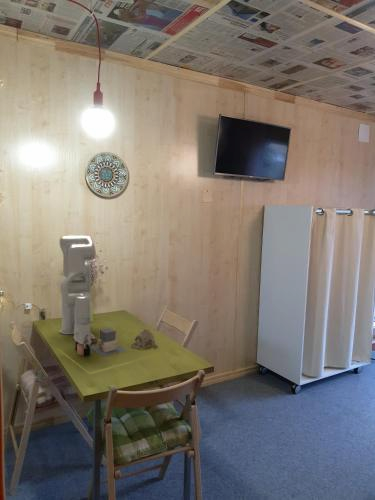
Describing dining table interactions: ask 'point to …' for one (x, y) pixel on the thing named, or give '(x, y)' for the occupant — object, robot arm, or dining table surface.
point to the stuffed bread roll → (144, 340)
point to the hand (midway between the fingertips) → (82, 352)
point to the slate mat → (100, 352)
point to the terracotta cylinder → (80, 349)
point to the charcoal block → (107, 334)
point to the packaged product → (93, 338)
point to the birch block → (107, 345)
